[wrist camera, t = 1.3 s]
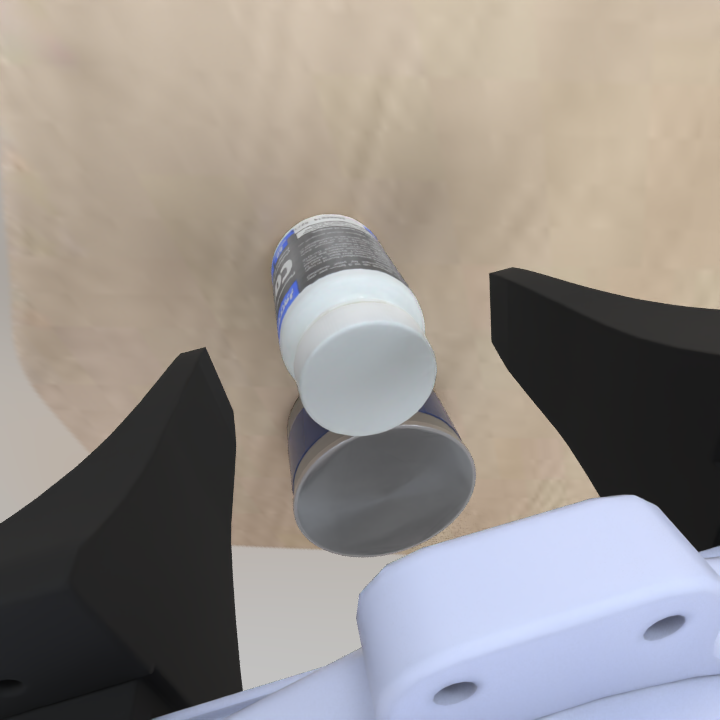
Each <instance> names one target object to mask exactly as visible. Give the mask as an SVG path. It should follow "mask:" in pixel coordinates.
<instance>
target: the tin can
mask: <svg viewBox="0 0 720 720" xmlns="http://www.w3.org/2000/svg"><path fill="white" fill-rule="evenodd" d="M287 436H288V454H289V463H290V473H291V482H292V491H293V511H294V516H295V520H296V523H297V525H298V527H299V529H300V530H301V532H302V533H303V535H304V536H305V537H306V538H307V539H308V540H309V541H311V542H312V543H313V544H315V545H316V546H318V547H320V548H322V549H324V550H326V551H329V552H331V553H335V554H339V555H343V556H350V557H376V556H383V555H388V554H393V553H397V552H400V551H404V550H407V549H409V548H412V547H414V546H417V545H419V544H421V543H423V542H425V541H427V540H429V539H430V538H432V537H434V536H435V535H437V534H438V533H440V532H441V531H443V530H444V529H445V528H446V527H447V526H449V525H450V524H451V523H452V522H453V521H454V520H455V519H456V518H457V517H458V516H459V515H460V513H461V512H462V511H463V509H464V508H465V507H466V505H467V503H468V502H469V500H470V498H471V495H472V493H473V490H474V486H475V480H476V469H475V464H474V461H473V458H472V456H471V454H470V452H469V450H468V448H467V447H466V446H465V444H464V443H463V442H462V440H461V438H460V436H459V434H458V433H457V431H456V429H455V427H454V425H453V423H452V422H451V420H450V418H449V416H448V414H447V412H446V411H445V409H444V407H443V405H442V403H441V401H440V400H439V398H438V397H437V396H436V394H435V393H434V391H433V389H432V392H431V394H430V396H429V397H428V399H427V400H426V402H425V403H424V405H423V406H422V407H421V408H420V409H419V410H418V411H417V412H416V413H415V414H414V415H413V416H412V417H410V418H409V419H408V420H406V421H405V422H403V423H402V424H400V425H398V426H396V427H394V428H392V429H390V430H388V431H385V432H382V433H378V434H373V435H368V436H349V435H343V434H338V433H334V432H331V431H329V430H327V429H325V428H323V427H322V426H320V425H319V424H318V423H316V422H315V421H314V420H313V419H312V418H311V417H310V416H309V414H308V413H307V412H306V410H305V408H304V406H303V404H302V402H301V399H300V396H299V398H298V399H297V401H296V402H295V404H294V406H293V408H292V410H291V413H290V416H289V419H288V425H287Z"/></svg>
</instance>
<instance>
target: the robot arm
mask: <svg viewBox="0 0 720 720" xmlns="http://www.w3.org/2000/svg"><path fill="white" fill-rule="evenodd" d="M489 278H490V309H491V340H492V343H493V345H494V347H495V349H496V350H497V352H498V354H499V356H500V358H501V359H502V361H503V362H504V364H505V366H506V367H507V369H508V371H509V372H510V373H511V374H512V376H513V377H514V378H515V380H516V381H517V382H518V383H519V385H520V386H521V387H522V388H523V389H524V391H525V392H526V393H527V394H528V396H529V397H530V398H531V399H532V400H533V402H534V403H535V404H536V405H537V407H538V408H539V409H540V410H541V411H542V413H543V414H544V415H545V416H546V418H547V419H548V420H549V421H550V422H551V424H552V425H553V426H554V427H555V428H556V430H557V431H558V432H559V434H560V435H561V436H562V438H563V439H564V440H565V442H566V443H567V445H568V446H569V448H570V449H571V451H572V452H573V454H574V455H575V457H576V459H577V460H578V462H579V463H580V465H581V466H582V468H583V469H584V471H585V473H586V474H587V476H588V477H589V479H590V481H591V482H592V484H593V486H594V487H595V489H596V491H597V492H598V494H599V496H600V497H599V498H591V499H587V500H584V501H581V502H577V503H574V504H570V505H567V506H564V507H560V508H557V509H553V510H550V511H547V512H543V513H540V514H536V515H533V516H529V517H526V518H523V519H519V520H516V521H512V522H509V523H506V524H502V525H499V526H495V527H492V528H489V529H485V530H482V531H478V532H475V533H472V534H468V535H465V536H461V537H458V538H454V539H451V540H448V541H444V542H441V543H437V544H434V545H431V546H427V547H424V548H421V549H419V550H416V551H414V552H412V553H410V554H408V555H406V556H404V557H402V558H400V559H397V560H395V561H393V562H391V563H389V564H387V565H386V566H385V567H384V568H383V569H382V570H381V571H380V572H379V573H378V574H377V575H376V576H375V577H374V579H372V581H371V582H370V583H369V584H368V585H367V586H366V587H365V588H364V589H363V590H362V592H361V593H360V594H359V601H358V609H357V616H356V619H357V625H358V630H359V635H360V640H361V645H362V647H361V648H359V649H357V650H355V651H353V652H351V653H350V654H348V655H346V656H344V657H342V658H340V659H338V660H336V661H334V662H332V663H330V664H328V665H326V666H324V667H320V668H317V669H314V670H311V671H308V672H304V673H301V674H298V675H295V676H291V677H288V678H284V679H281V680H278V681H275V682H271V683H268V684H265V685H261V686H258V687H255V688H252V689H249V690H245V691H243V689H242V680H241V672H240V661H239V650H238V639H237V628H236V616H235V603H234V588H233V573H232V572H233V571H232V553H231V552H232V551H231V519H232V504H233V490H234V475H235V458H236V435H235V424H234V413H233V409H232V407H231V405H230V402H229V400H228V398H227V395H226V393H225V391H224V389H223V386H222V384H221V382H220V379H219V377H218V375H217V372H216V370H215V368H214V366H213V363H212V361H211V359H210V356H209V354H208V352H207V350H206V347H204V348H200V349H197V350H193V351H189V352H185V353H181V354H180V355H179V356H178V357H177V358H176V359H175V360H174V361H173V362H172V364H171V365H170V366H169V367H168V368H167V370H166V371H165V372H164V373H163V375H162V376H161V377H160V378H159V380H158V381H157V382H156V383H155V385H154V386H153V387H152V388H151V390H150V391H149V392H148V393H147V394H146V396H145V397H144V398H143V399H142V401H141V402H140V403H139V404H138V405H137V406H136V407H135V408H134V410H133V411H132V412H131V413H130V414H129V415H128V416H127V417H126V418H125V420H124V421H123V422H122V423H121V424H120V425H119V426H118V427H117V428H116V429H115V431H114V432H113V433H112V434H111V435H110V436H109V437H108V438H107V439H106V440H105V441H104V442H103V443H102V444H101V445H100V446H99V447H98V448H96V449H95V450H94V451H93V452H92V453H91V454H90V455H89V456H88V457H87V458H85V459H84V460H83V461H82V462H81V463H80V464H79V465H78V466H77V467H75V468H74V469H73V470H72V471H70V472H69V473H68V474H67V475H65V476H64V477H63V478H62V479H60V480H59V481H58V482H57V483H56V484H54V485H53V486H51V487H50V488H49V489H48V490H46V491H45V492H44V493H43V494H41V495H40V496H39V497H38V498H36V499H35V500H33V501H32V502H31V503H29V504H28V505H26V506H25V507H24V508H22V509H21V510H19V511H18V512H17V513H15V514H14V515H12V516H11V517H9V518H8V519H6V520H5V521H3V522H2V523H0V720H720V310H717V309H706V308H694V307H686V306H677V305H670V304H664V303H658V302H652V301H645V300H640V299H635V298H630V297H625V296H621V295H616V294H612V293H608V292H604V291H600V290H596V289H592V288H588V287H584V286H581V285H577V284H574V283H570V282H567V281H563V280H560V279H557V278H553V277H550V276H546V275H543V274H539V273H536V272H532V271H528V270H524V269H520V268H513V267H512V268H508V269H504V270H501V271H497V272H493V273H489Z"/></svg>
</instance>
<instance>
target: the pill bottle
mask: <svg viewBox="0 0 720 720" xmlns="http://www.w3.org/2000/svg"><path fill="white" fill-rule="evenodd" d="M271 275H272V284H273V294H274V302H275V311H276V318H277V329H278V337H279V345H280V351H281V355H282V359H283V361H284V363H285V366H286V368H287V370H288V371H289V373H290V374H291V376H292V377H293V378H294V380H295V381H296V383H297V387H298V391H299V395H300V399H301V402H302V404H303V406H304V408H305V410H306V412H307V413H308V414H309V416H310V417H311V418H312V419H313V420H314V421H315V422H316V423H318V424H319V425H320V426H322V427H323V428H325V429H327V430H329V431H331V432H334V433H338V434H343V435H349V436H368V435H373V434H378V433H382V432H385V431H388V430H390V429H392V428H394V427H396V426H398V425H400V424H402V423H403V422H405V421H406V420H408V419H409V418H410V417H412V416H413V415H414V414H415V413H416V412H417V411H418V410H419V409H420V408H421V407H422V406H423V405H424V403H425V402H426V400H427V399H428V397H429V396H430V394H431V392H432V389H433V387H434V383H435V379H436V373H437V366H436V359H435V354H434V351H433V349H432V347H431V345H430V343H429V342H428V340H427V338H426V337H425V324H424V318H423V313H422V310H421V308H420V305H419V303H418V301H417V299H416V297H415V295H414V294H413V292H412V291H411V289H410V288H409V286H408V285H407V283H406V282H405V281H404V279H403V278H402V276H401V274H400V273H399V272H398V270H397V268H396V267H395V265H394V264H393V262H392V261H391V259H390V258H389V256H388V255H387V254H386V252H385V250H384V249H383V247H382V246H381V244H380V242H379V241H378V240H377V238H376V237H375V236H374V235H373V233H372V232H371V231H370V230H369V229H368V228H367V227H365V226H364V225H363V224H361V223H360V222H358V221H357V220H355V219H352V218H350V217H347V216H344V215H338V214H323V215H317V216H313V217H310V218H307V219H305V220H303V221H301V222H299V223H298V224H296V225H295V226H294V227H292V228H291V229H290V230H289V231H288V232H287V233H286V234H285V235H284V237H283V238H282V239H281V240H280V242H279V244H278V246H277V248H276V250H275V253H274V256H273V261H272V270H271Z"/></svg>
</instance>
